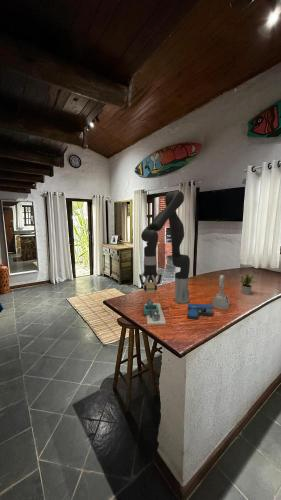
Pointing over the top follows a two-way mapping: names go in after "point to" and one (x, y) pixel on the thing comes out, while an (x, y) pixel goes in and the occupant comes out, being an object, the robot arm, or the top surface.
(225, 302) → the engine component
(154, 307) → the cradle
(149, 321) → the base plate
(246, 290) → the house plant
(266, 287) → the top surface
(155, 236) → the robot arm
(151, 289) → the yellow cube
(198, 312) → the stun gun
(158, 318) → the shaft
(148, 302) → the shaft
